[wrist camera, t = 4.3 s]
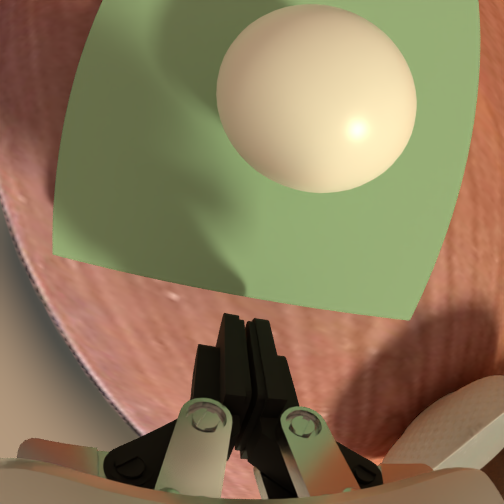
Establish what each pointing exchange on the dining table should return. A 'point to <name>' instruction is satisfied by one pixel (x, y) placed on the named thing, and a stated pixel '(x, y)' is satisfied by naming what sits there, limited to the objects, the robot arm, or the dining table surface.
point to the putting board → (246, 177)
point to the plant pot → (496, 471)
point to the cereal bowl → (456, 429)
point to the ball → (316, 98)
